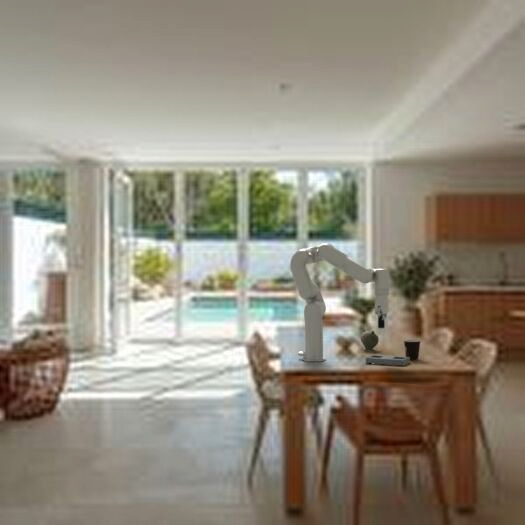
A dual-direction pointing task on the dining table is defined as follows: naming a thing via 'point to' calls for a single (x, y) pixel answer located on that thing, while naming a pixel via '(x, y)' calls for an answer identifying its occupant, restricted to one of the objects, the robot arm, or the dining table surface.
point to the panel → (387, 359)
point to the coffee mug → (412, 348)
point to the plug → (383, 330)
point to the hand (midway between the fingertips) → (382, 327)
